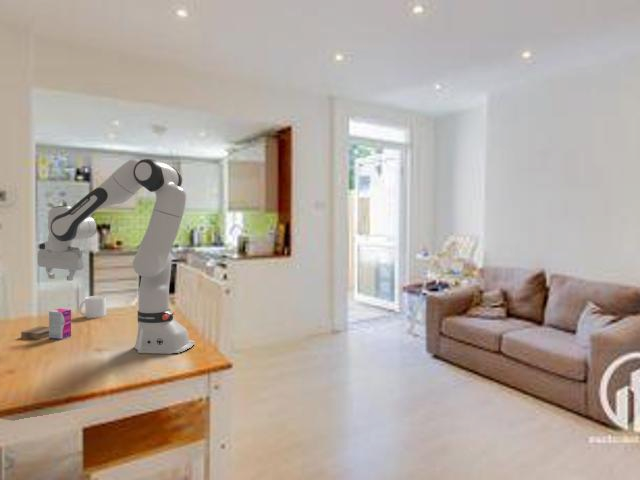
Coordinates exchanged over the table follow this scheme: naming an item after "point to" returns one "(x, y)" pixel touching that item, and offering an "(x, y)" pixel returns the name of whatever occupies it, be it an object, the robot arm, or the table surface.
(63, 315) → the supplement box
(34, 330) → the base slab
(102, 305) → the mug
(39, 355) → the table surface
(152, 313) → the robot arm
